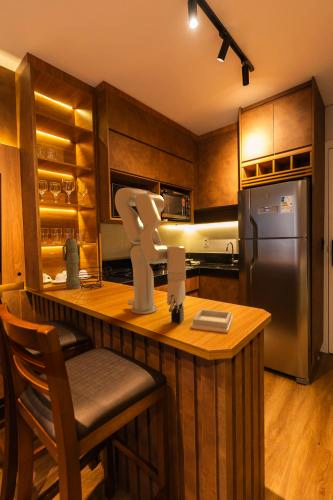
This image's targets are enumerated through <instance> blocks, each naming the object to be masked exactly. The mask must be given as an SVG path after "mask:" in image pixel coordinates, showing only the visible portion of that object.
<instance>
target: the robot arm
mask: <svg viewBox="0 0 333 500" xmlns="http://www.w3.org/2000/svg"><path fill="white" fill-rule="evenodd" d="M114 205H115V209H116V211H117V213H118V215H119V217H120V219H121V221H122V224H123V227H124V231H125V233H126V236H127V237H126V238H128V241H129V242H130V243H131V244H134V246H133V247H132V248H131V249H130V254H129V255H130V260H131V264H132V272H133V273H132V277H133V300H132V299H129V300H127V305H128V306H131V308H130V311H131V312H132V313H133V314H137V315H148V314H153V313H155V312H157V311H158V310H159V309H158V306H157V305H155V285H154V284H155V283H154V281H155V280H154V271H153V268H152V267H151V264H152V265H157V264H166V266H167V267H166V269H167V273H166V274H167V291H166V292H167V293H166V303H167V305H168V306H169V308H170V309H171V312H170V313H172V322H177V323H176V324H178V323H179V322H180V314H179V306H183V307H184V302H185V300H186V286H185V285H186V283H185V281H186V280H187V270H186V269H187V267H186V247H185V246H182V245H170V244H163V242H162V239H161V236H160V233H159V231H158V228H160V227H161V225H162V218H161V216H160V213H162V212H163V211H164V209H165V200H164V198H163V197H162V196H161V195H159V194H158V193H157V194H156V193H154V192H151V191H149V190H145V189H140V188H138V189H137V188H132V187H123V188H119V189H117V191H116V192H115V196H114ZM133 207H136V210H137V211H136V210H135V209H134V208H133ZM135 244H137V245H135ZM174 306H175V307H174ZM176 307H177V309H176Z"/></svg>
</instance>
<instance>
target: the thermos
mask: <svg viewBox="0 0 333 500" xmlns="http://www.w3.org/2000/svg"><path fill="white" fill-rule="evenodd" d="M80 247H81V246H80V245H79V244H78V243H77V240H76V238H75V237H74V238H73V237H69V238H68V237H67V238H66V239H65V242H64V245H62V247H61V248H62V251H61V252H62V260H63V261H64V264H65V271H66V278H65V285H66V290H77V289H80V287H81V281H80V279H81V278H80V276H79V263H80V262H79V261H80V259H81V249H80Z"/></svg>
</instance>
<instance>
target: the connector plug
mask: <svg viewBox="0 0 333 500" xmlns="http://www.w3.org/2000/svg"><path fill="white" fill-rule="evenodd" d="M174 307H175V306H174ZM176 309H177V307H176ZM184 311H185V310H184V305H183V306H179V314H180V322H179V323H177V322H172V313H171V309H170V307H169V308H168V312H170V313H171V314H170V316H171V317H170V319H171V320H170V321H171V322H170V323H171V324H180V325H181V324H182V323H183V322H184V321H185V319H184V318H185V317H184V313H185V312H184Z"/></svg>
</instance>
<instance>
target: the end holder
mask: <svg viewBox="0 0 333 500" xmlns="http://www.w3.org/2000/svg"><path fill="white" fill-rule="evenodd" d="M233 319H234V315H232V311H225V310H224V311H223V310H213V309H203V308H202V309H200V310H199V311H198V312H197V313H196V315H194V317H193V318H192V323H191V324H190V329H195V330H204V331H210V332H218V333H229V331H230V329H231V325H232V323H233Z"/></svg>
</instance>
